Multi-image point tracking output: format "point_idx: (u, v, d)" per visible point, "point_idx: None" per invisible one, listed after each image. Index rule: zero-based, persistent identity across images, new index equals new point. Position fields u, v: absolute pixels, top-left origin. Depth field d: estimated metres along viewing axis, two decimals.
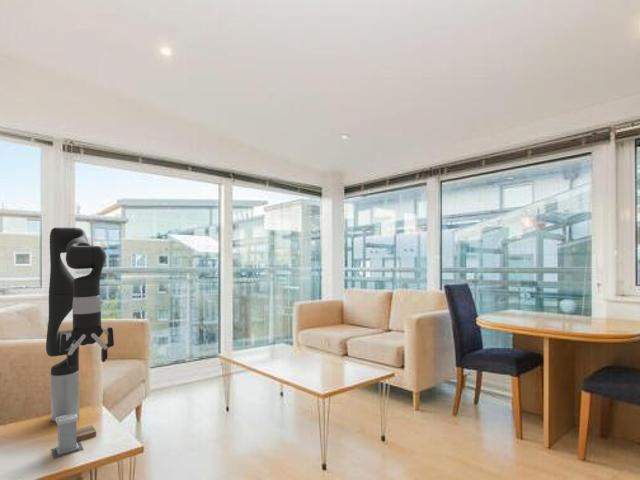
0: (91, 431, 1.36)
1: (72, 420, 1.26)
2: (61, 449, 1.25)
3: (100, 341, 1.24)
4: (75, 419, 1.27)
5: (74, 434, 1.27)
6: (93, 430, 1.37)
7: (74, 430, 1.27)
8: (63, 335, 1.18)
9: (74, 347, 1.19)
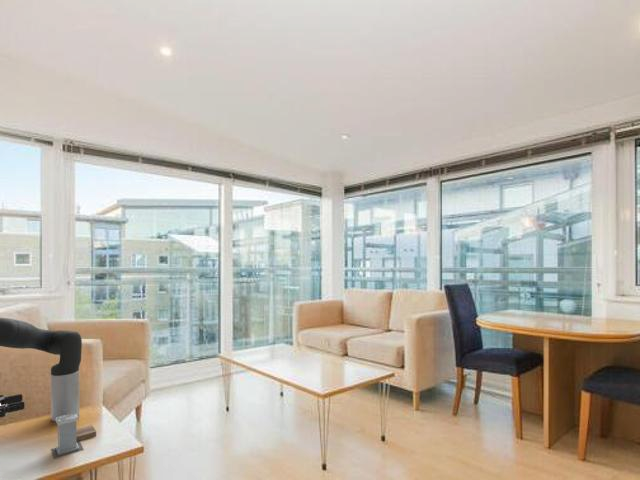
0: (91, 431, 1.36)
1: (72, 420, 1.26)
2: (61, 449, 1.25)
3: None
4: (75, 419, 1.27)
5: (74, 434, 1.27)
6: (93, 430, 1.37)
7: (74, 430, 1.27)
8: None
9: None
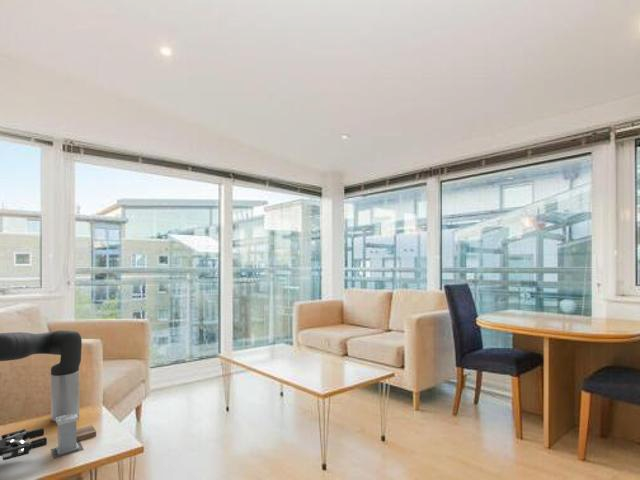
0: (91, 431, 1.36)
1: (72, 420, 1.26)
2: (61, 449, 1.25)
3: None
4: (75, 419, 1.27)
5: (74, 434, 1.27)
6: (93, 430, 1.37)
7: (74, 430, 1.27)
8: None
9: None
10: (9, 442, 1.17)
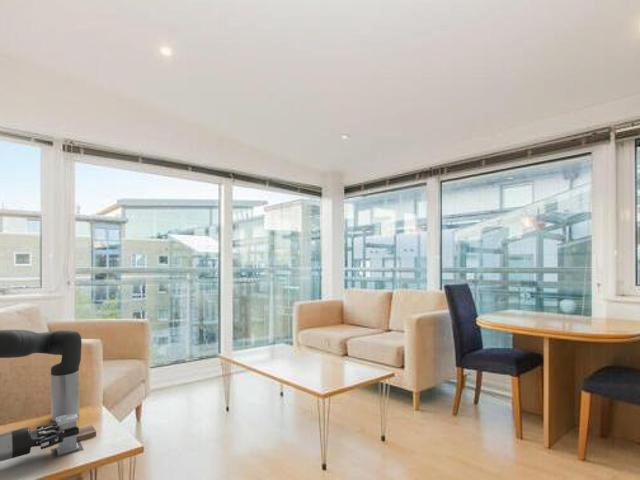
0: (91, 431, 1.36)
1: (72, 420, 1.26)
2: (61, 449, 1.25)
3: None
4: (75, 419, 1.27)
5: None
6: (93, 430, 1.37)
7: None
8: None
9: None
10: (42, 433, 1.22)
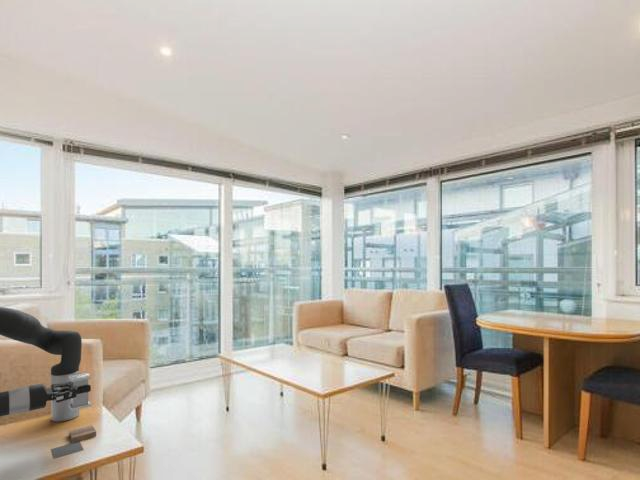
0: (91, 431, 1.36)
1: (84, 378, 1.34)
2: (74, 405, 1.33)
3: None
4: (87, 377, 1.35)
5: None
6: (93, 430, 1.37)
7: None
8: None
9: None
10: (57, 389, 1.30)
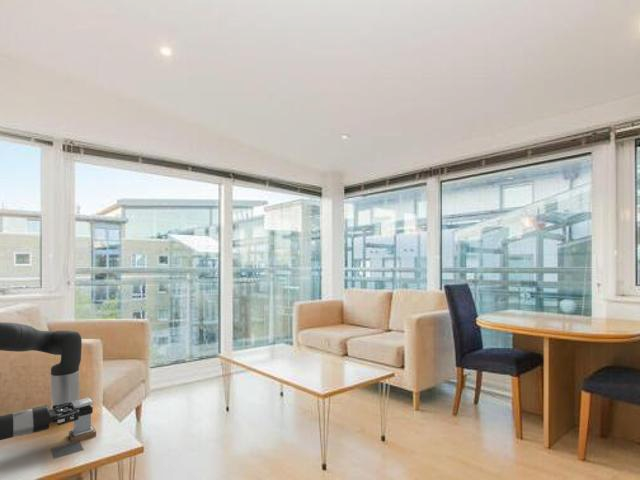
0: None
1: (87, 404, 1.36)
2: (77, 430, 1.34)
3: None
4: (89, 403, 1.36)
5: (88, 417, 1.36)
6: (93, 430, 1.37)
7: None
8: None
9: None
10: (59, 411, 1.31)
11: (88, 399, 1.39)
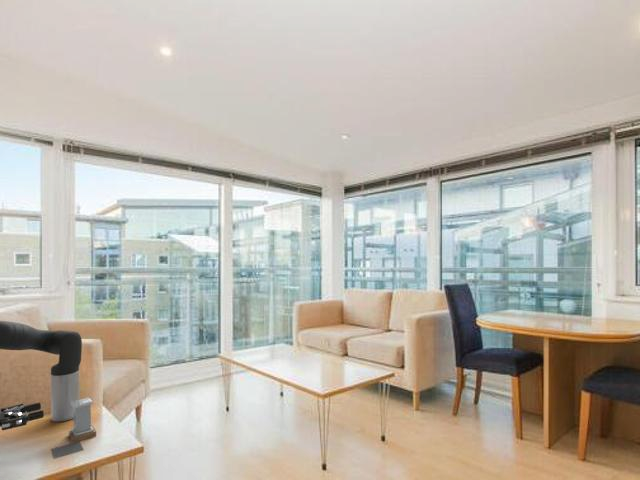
0: None
1: (87, 404, 1.36)
2: (77, 430, 1.34)
3: None
4: (89, 403, 1.36)
5: (88, 417, 1.36)
6: (93, 430, 1.37)
7: (89, 413, 1.37)
8: None
9: None
10: (7, 414, 1.23)
11: (88, 399, 1.39)
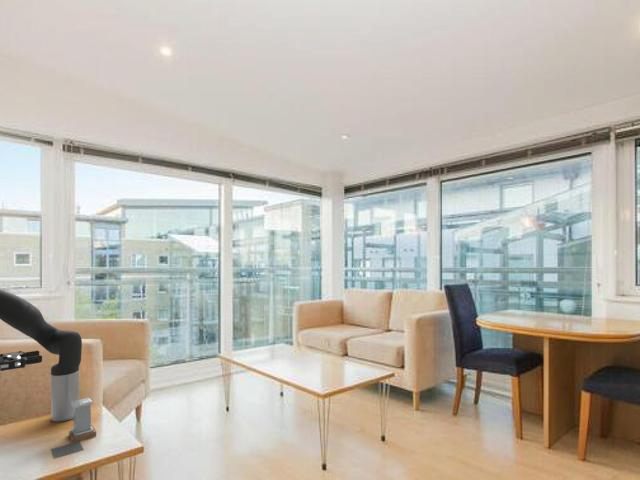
0: None
1: (87, 404, 1.36)
2: (77, 430, 1.34)
3: None
4: (89, 403, 1.36)
5: (88, 417, 1.36)
6: (93, 430, 1.37)
7: (89, 413, 1.37)
8: None
9: None
10: (6, 357, 1.23)
11: (88, 399, 1.39)
